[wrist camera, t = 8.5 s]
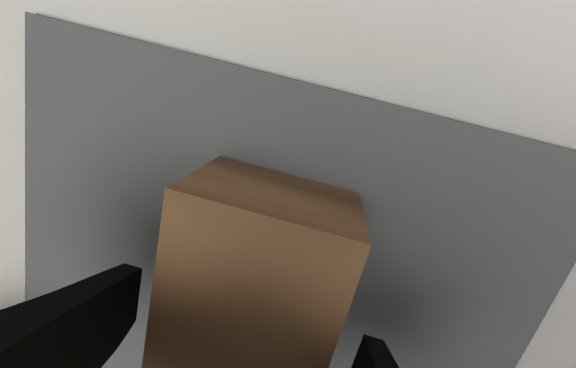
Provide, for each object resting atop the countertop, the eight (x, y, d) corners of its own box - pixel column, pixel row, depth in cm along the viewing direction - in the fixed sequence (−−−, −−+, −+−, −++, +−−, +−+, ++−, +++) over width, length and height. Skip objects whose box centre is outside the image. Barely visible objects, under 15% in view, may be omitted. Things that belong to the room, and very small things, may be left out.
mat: (620, 161, 10) (631, 164, 10) (442, 478, 15) (445, 488, 14) (35, 14, 12) (24, 11, 11) (32, 348, 16) (25, 354, 16)
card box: (296, 387, 14) (282, 499, 10) (184, 353, 14) (130, 449, 11) (359, 192, 11) (371, 245, 8) (220, 155, 12) (164, 187, 8)
